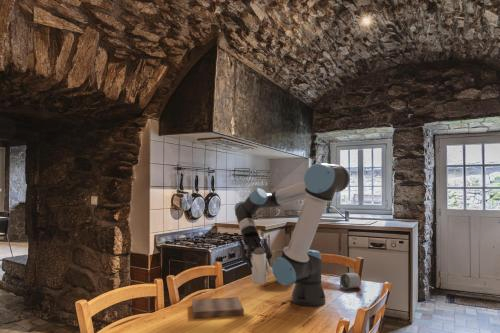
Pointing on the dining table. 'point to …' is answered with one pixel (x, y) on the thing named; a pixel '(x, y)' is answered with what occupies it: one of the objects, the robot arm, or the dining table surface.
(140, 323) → the dining table surface
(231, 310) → the walnut board
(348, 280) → the ceramic mug
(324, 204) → the robot arm
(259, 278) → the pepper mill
